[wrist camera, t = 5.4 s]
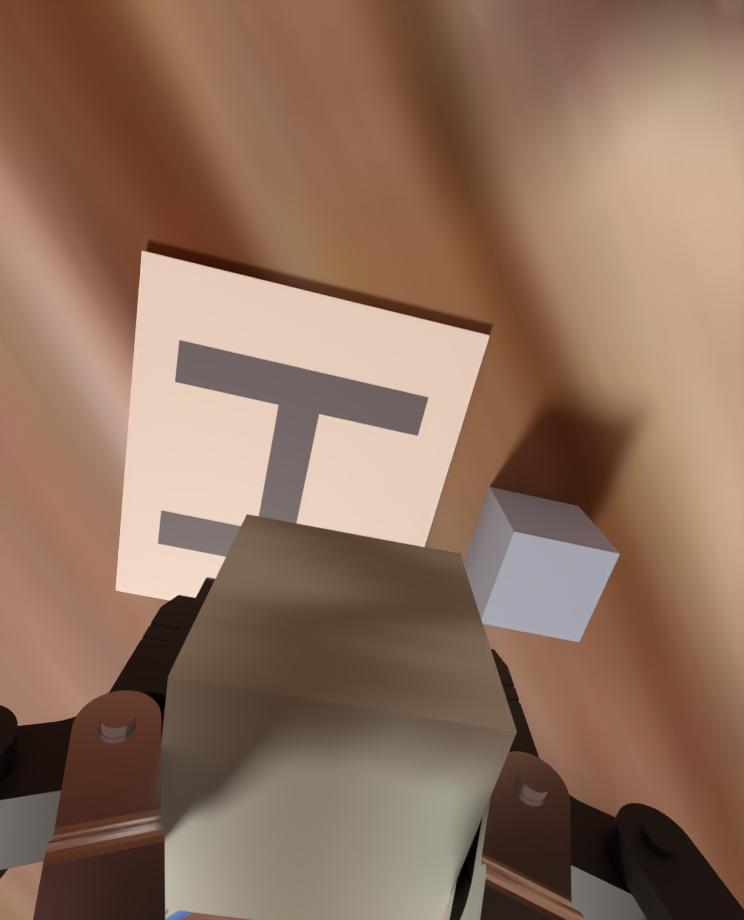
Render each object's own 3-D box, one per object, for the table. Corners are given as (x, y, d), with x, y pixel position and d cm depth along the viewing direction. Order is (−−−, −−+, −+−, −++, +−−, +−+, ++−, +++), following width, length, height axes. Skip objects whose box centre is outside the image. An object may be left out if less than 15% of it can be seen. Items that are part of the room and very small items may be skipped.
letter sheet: (487, 334, 25) (489, 335, 25) (394, 637, 31) (395, 642, 31) (145, 250, 24) (141, 250, 23) (118, 586, 30) (115, 590, 29)
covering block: (460, 553, 12) (516, 732, 8) (410, 715, 14) (432, 942, 9) (247, 514, 12) (168, 676, 7) (221, 685, 14) (144, 906, 9)
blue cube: (577, 505, 28) (619, 553, 24) (545, 582, 30) (579, 642, 25) (489, 486, 28) (514, 531, 23) (461, 565, 30) (479, 623, 25)
